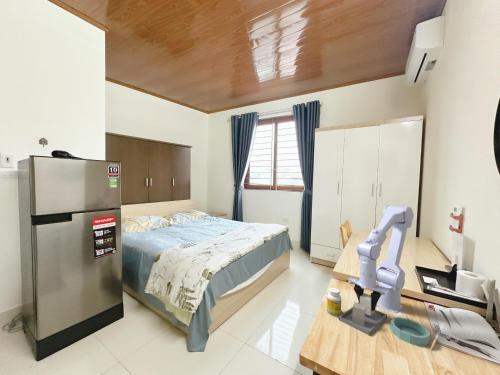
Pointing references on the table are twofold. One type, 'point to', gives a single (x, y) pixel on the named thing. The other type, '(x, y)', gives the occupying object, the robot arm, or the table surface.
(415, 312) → the table surface
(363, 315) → the light gray rectangular block
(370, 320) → the tray
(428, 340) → the bowl
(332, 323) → the table surface
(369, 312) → the beige rectangular block
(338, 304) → the supplement bottle
